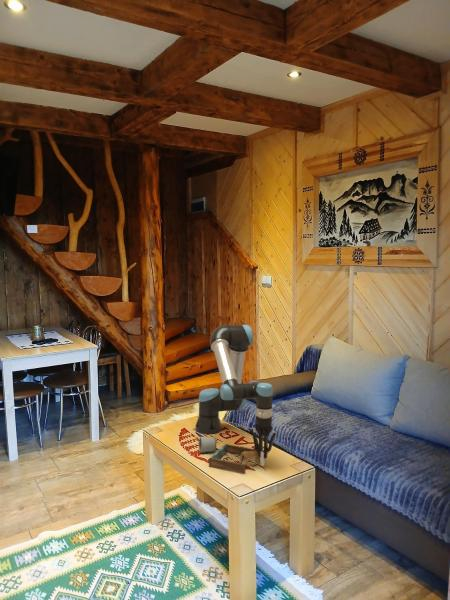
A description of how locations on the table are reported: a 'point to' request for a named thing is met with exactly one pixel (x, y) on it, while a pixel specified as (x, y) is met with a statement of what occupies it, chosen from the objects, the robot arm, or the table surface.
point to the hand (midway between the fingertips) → (262, 464)
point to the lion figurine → (250, 456)
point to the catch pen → (227, 465)
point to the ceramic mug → (207, 444)
